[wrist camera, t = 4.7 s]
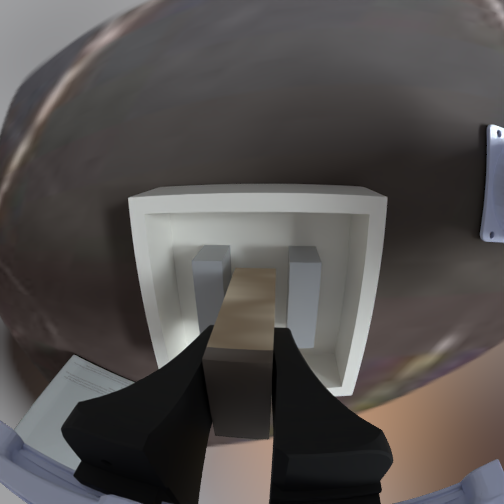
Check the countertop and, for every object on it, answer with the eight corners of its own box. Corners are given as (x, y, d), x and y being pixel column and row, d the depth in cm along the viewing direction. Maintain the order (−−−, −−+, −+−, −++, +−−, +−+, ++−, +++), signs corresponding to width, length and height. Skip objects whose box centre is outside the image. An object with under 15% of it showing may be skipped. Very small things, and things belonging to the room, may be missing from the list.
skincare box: (79, 388, 24) (12, 487, 10) (74, 348, 22) (-16, 460, 8) (150, 421, 24) (99, 541, 10) (154, 386, 22) (85, 531, 8)
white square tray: (362, 186, 15) (387, 197, 11) (342, 355, 19) (352, 395, 15) (160, 187, 16) (128, 197, 12) (181, 349, 20) (163, 386, 16)
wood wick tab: (275, 268, 14) (272, 363, 8) (274, 335, 16) (268, 439, 9) (235, 267, 14) (202, 359, 8) (238, 334, 16) (215, 435, 9)
